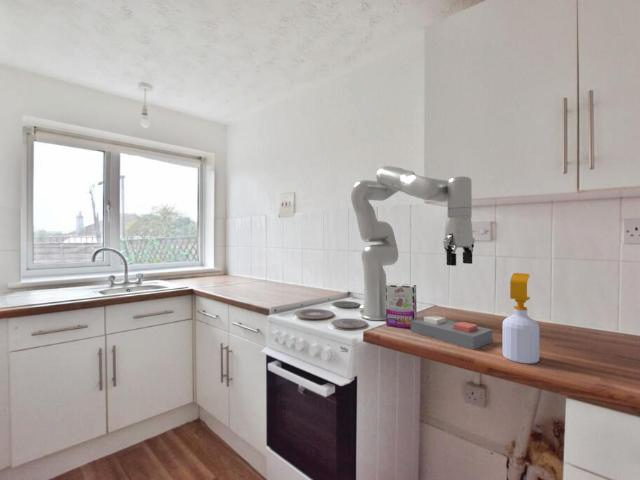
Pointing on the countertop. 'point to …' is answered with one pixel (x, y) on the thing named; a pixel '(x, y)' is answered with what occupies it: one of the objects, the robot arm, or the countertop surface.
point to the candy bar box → (400, 305)
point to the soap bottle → (520, 326)
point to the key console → (452, 333)
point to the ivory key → (434, 319)
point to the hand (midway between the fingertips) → (459, 264)
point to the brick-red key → (465, 327)
